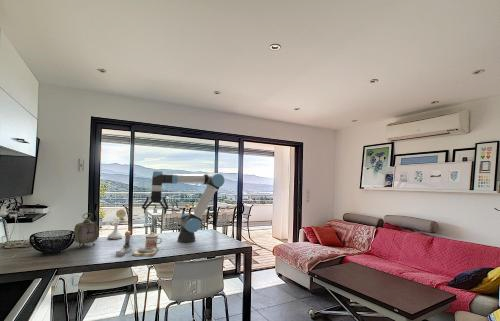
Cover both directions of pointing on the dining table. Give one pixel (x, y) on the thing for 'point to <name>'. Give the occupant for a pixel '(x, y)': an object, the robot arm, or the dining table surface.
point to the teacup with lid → (151, 240)
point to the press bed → (145, 252)
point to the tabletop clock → (86, 231)
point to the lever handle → (127, 239)
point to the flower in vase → (115, 233)
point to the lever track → (123, 251)
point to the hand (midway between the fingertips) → (154, 218)
